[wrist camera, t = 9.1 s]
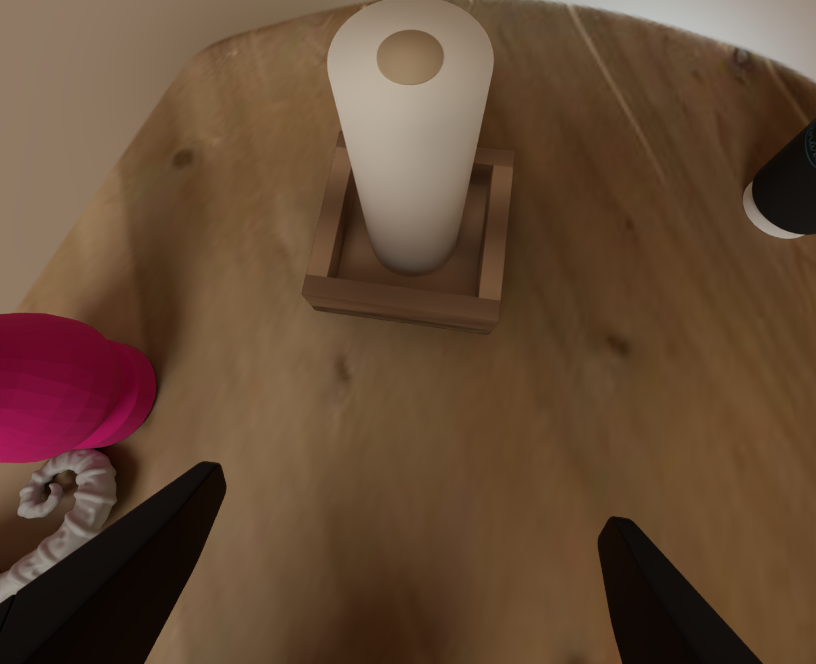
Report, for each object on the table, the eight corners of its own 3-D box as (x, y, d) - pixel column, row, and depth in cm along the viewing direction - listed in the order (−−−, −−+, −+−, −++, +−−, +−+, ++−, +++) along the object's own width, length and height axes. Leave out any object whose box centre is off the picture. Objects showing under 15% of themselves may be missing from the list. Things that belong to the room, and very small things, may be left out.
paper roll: (426, 292, 23) (435, 154, 11) (353, 247, 24) (292, 76, 12) (473, 225, 24) (525, 34, 13) (401, 184, 25) (388, -30, 13)
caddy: (488, 334, 23) (498, 321, 21) (315, 310, 24) (301, 293, 21) (503, 181, 26) (515, 150, 23) (347, 163, 27) (339, 130, 24)
